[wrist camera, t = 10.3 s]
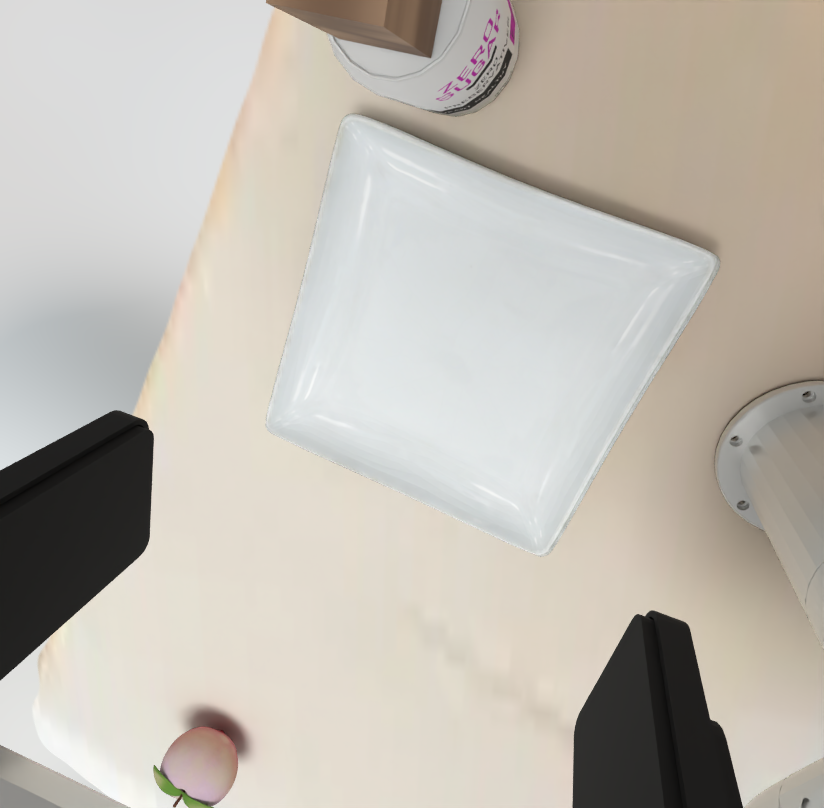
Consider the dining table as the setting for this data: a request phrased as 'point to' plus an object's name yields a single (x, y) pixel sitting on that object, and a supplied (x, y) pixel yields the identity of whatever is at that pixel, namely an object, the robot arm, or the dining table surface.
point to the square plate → (474, 333)
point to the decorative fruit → (198, 768)
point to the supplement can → (443, 60)
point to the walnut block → (372, 21)
